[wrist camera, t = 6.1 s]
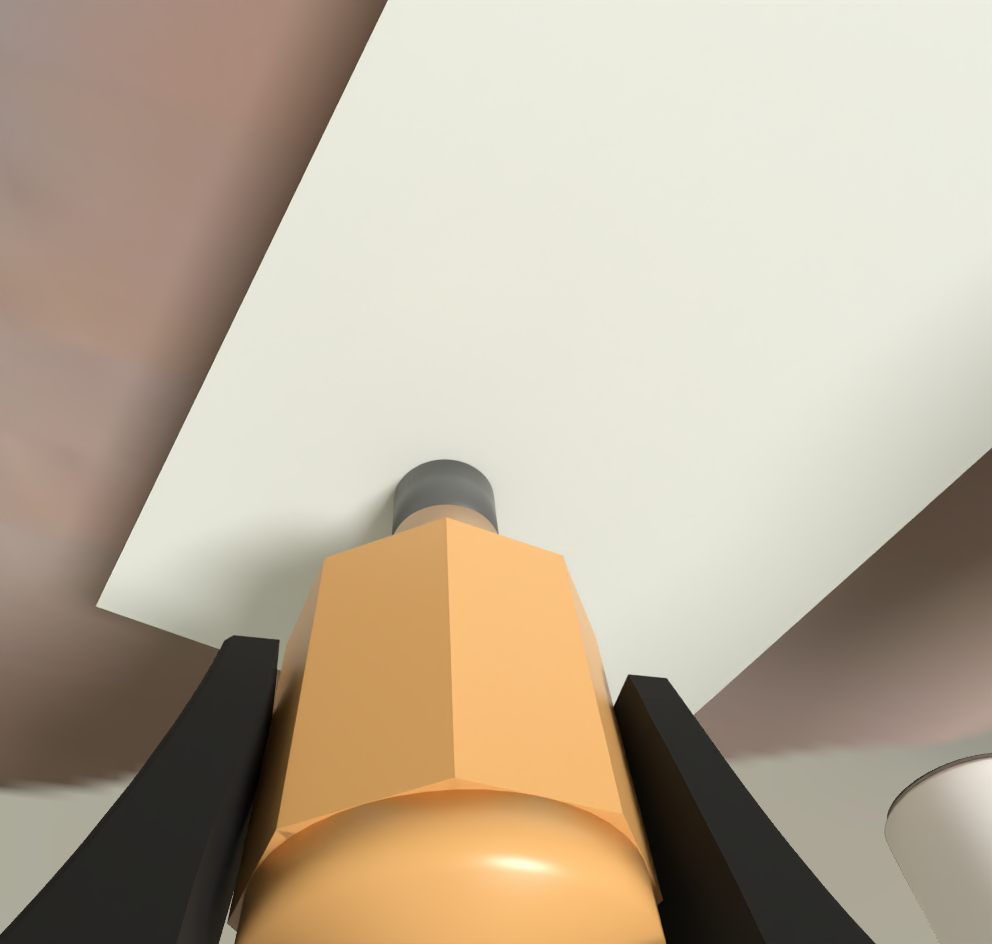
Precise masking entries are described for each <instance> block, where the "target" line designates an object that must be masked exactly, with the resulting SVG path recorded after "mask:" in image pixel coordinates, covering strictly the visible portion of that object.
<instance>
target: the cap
mask: <svg viewBox="0 0 992 944" xmlns="http://www.w3.org/2000/svg"><path fill="white" fill-rule="evenodd" d="M662 900H663V898H662V894H661V890H660V886H659V882H658V878H657V874H656V870H655V866H654V862H653V858H652V855H651V851H650V847H649V843H648V839H647V835H646V831H645V827H644V823H643V819H642V815H641V811H640V808H639V804H638V800H637V796H636V792H635V788H634V784H633V780H632V776H631V773H630V769H629V765H628V762H627V758H626V754H625V750H624V746H623V742H622V738H621V734H620V730H619V726H618V722H617V718H616V715H615V711H614V706H613V702H612V698H611V694H610V690H609V686H608V682H607V678H606V675H605V671H604V667H603V663H602V659H601V655H600V651H599V647H598V643H597V639H596V636H595V634H594V631H593V629H592V627H591V624H590V622H589V619H588V617H587V614H586V612H585V609H584V607H583V604H582V602H581V599H580V597H579V595H578V592H577V590H576V587H575V585H574V582H573V580H572V577H571V575H570V572H569V570H568V567H567V565H566V563H565V560H564V558H563V555H560V554H557V553H554V552H551V551H548V550H545V549H542V548H539V547H536V546H532V545H529V544H526V543H523V542H520V541H517V540H514V539H511V538H508V537H505V536H502V535H499V534H496V533H493V532H490V531H487V530H484V529H480V528H477V527H474V526H471V525H468V524H465V523H462V522H459V521H456V520H453V519H450V518H447V517H445V518H442V519H439V520H436V521H433V522H430V523H427V524H424V525H421V526H418V527H415V528H412V529H409V530H406V531H404V532H401V533H398V534H395V535H392V536H389V537H386V538H383V539H380V540H377V541H374V542H371V543H368V544H365V545H362V546H359V547H356V548H353V549H350V550H347V551H344V552H341V553H338V554H335V555H332V556H330V557H327V558H325V559H324V561H323V563H322V566H321V568H320V570H319V572H318V575H317V577H316V579H315V581H314V584H313V586H312V588H311V590H310V593H309V595H308V597H307V600H306V602H305V604H304V606H303V609H302V611H301V613H300V615H299V618H298V620H297V622H296V624H295V627H294V629H293V631H292V634H291V636H290V638H289V640H288V643H287V645H286V650H285V654H284V659H283V664H282V668H281V673H280V678H279V683H278V687H277V692H276V697H275V701H274V706H273V715H272V720H271V725H270V730H269V734H268V739H267V744H266V749H265V753H264V758H263V763H262V767H261V772H260V777H259V781H258V784H257V788H256V792H255V796H254V800H253V805H252V809H251V814H250V819H249V823H248V828H247V833H246V837H245V842H244V847H243V852H242V856H241V861H240V866H239V870H238V875H237V880H236V884H235V889H234V894H233V899H232V903H231V908H230V913H229V918H228V922H227V924H228V925H230V926H231V927H232V928H233V929H234V930H236V931H237V934H236V939H235V944H666V941H665V937H664V933H663V929H662V925H661V920H660V916H659V912H658V908H657V905H658V904H659V903H660V902H661V901H662Z"/></svg>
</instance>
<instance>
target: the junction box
mask: <svg viewBox="0 0 992 944" xmlns="http://www.w3.org/2000/svg"><path fill="white" fill-rule="evenodd" d="M991 448H992V0H388V1H387V3H386V5H385V7H384V10H383V12H382V14H381V16H380V18H379V20H378V22H377V24H376V26H375V28H374V30H373V32H372V34H371V37H370V39H369V41H368V43H367V45H366V47H365V49H364V51H363V53H362V55H361V57H360V59H359V61H358V63H357V66H356V68H355V70H354V72H353V74H352V76H351V78H350V80H349V82H348V84H347V86H346V88H345V90H344V93H343V95H342V97H341V99H340V101H339V103H338V105H337V107H336V109H335V111H334V113H333V115H332V117H331V119H330V122H329V124H328V126H327V128H326V130H325V132H324V134H323V136H322V138H321V140H320V142H319V144H318V146H317V149H316V151H315V153H314V155H313V157H312V159H311V161H310V163H309V165H308V167H307V169H306V171H305V173H304V175H303V178H302V180H301V182H300V184H299V186H298V188H297V190H296V192H295V194H294V196H293V198H292V200H291V202H290V205H289V207H288V209H287V211H286V213H285V215H284V217H283V219H282V221H281V223H280V225H279V227H278V229H277V231H276V234H275V236H274V238H273V240H272V242H271V244H270V246H269V248H268V250H267V252H266V254H265V256H264V258H263V261H262V263H261V265H260V267H259V269H258V271H257V273H256V275H255V277H254V279H253V281H252V283H251V285H250V287H249V290H248V292H247V294H246V296H245V298H244V300H243V302H242V304H241V306H240V308H239V310H238V312H237V314H236V317H235V319H234V321H233V323H232V325H231V327H230V329H229V331H228V333H227V335H226V337H225V339H224V341H223V343H222V346H221V348H220V350H219V352H218V354H217V356H216V358H215V360H214V362H213V364H212V366H211V368H210V370H209V373H208V375H207V377H206V379H205V381H204V383H203V385H202V387H201V389H200V391H199V393H198V395H197V397H196V400H195V402H194V404H193V406H192V408H191V410H190V412H189V414H188V416H187V418H186V420H185V422H184V424H183V426H182V429H181V431H180V433H179V435H178V437H177V439H176V441H175V443H174V445H173V447H172V449H171V451H170V453H169V456H168V458H167V460H166V462H165V464H164V466H163V468H162V470H161V472H160V474H159V476H158V478H157V480H156V482H155V485H154V487H153V489H152V491H151V493H150V495H149V497H148V499H147V501H146V503H145V505H144V507H143V509H142V512H141V514H140V516H139V518H138V520H137V522H136V524H135V526H134V528H133V530H132V532H131V534H130V536H129V538H128V541H127V543H126V545H125V547H124V549H123V551H122V553H121V555H120V557H119V559H118V561H117V563H116V565H115V568H114V570H113V572H112V574H111V576H110V578H109V580H108V582H107V584H106V586H105V588H104V590H103V592H102V594H101V597H100V599H99V601H98V603H97V605H96V607H99V608H102V609H105V610H108V611H111V612H114V613H116V614H119V615H122V616H125V617H128V618H131V619H134V620H137V621H139V622H142V623H145V624H148V625H151V626H154V627H157V628H160V629H162V630H165V631H168V632H171V633H174V634H177V635H180V636H183V637H185V638H188V639H191V640H194V641H197V642H200V643H203V644H206V645H208V646H211V647H214V648H217V649H220V648H221V646H222V644H223V642H224V640H226V639H228V638H229V637H231V636H233V635H237V636H247V637H257V638H268V639H278V640H280V643H279V654H278V664H277V670H280V671H281V668H282V664H283V659H284V654H285V650H286V645H287V643H288V640H289V638H290V636H291V634H292V631H293V629H294V627H295V624H296V622H297V620H298V618H299V615H300V613H301V611H302V609H303V606H304V604H305V602H306V600H307V597H308V595H309V593H310V590H311V588H312V586H313V584H314V581H315V579H316V577H317V575H318V572H319V570H320V568H321V566H322V563H323V561H324V559H325V558H327V557H330V556H332V555H335V554H338V553H341V552H344V551H347V550H350V549H353V548H356V547H359V546H362V545H365V544H368V543H371V542H374V541H377V540H380V539H383V538H386V537H389V536H392V535H395V534H398V533H401V532H404V531H406V530H409V529H412V528H415V527H418V526H421V525H424V524H427V523H430V522H433V521H436V520H439V519H442V518H445V517H447V518H450V519H453V520H456V521H459V522H462V523H465V524H468V525H471V526H474V527H477V528H480V529H484V530H487V531H490V532H493V533H496V534H499V535H502V536H505V537H508V538H511V539H514V540H517V541H520V542H523V543H526V544H529V545H532V546H536V547H539V548H542V549H545V550H548V551H551V552H554V553H557V554H560V555H563V558H564V560H565V563H566V565H567V567H568V570H569V572H570V575H571V577H572V580H573V582H574V585H575V587H576V590H577V592H578V595H579V597H580V599H581V602H582V604H583V607H584V609H585V612H586V614H587V617H588V619H589V622H590V624H591V627H592V629H593V631H594V634H595V636H596V639H597V643H598V647H599V651H600V655H601V659H602V663H603V667H604V671H605V675H606V678H607V682H608V686H609V690H610V694H611V698H612V702H613V706H614V704H615V702H616V700H617V698H618V696H619V693H620V691H621V689H622V687H623V685H624V682H625V680H626V678H627V676H628V674H631V675H641V676H651V677H661V678H667V679H668V680H669V682H670V683H671V684H672V686H673V687H674V689H675V690H676V691H677V693H678V694H679V696H680V697H681V698H682V700H683V701H684V703H685V704H686V705H687V707H688V708H689V710H690V711H691V712H692V714H693V715H694V714H695V713H696V712H697V711H699V710H700V709H701V708H702V707H703V706H704V705H705V704H706V703H707V702H709V701H710V700H711V699H712V698H713V697H714V696H715V695H716V694H718V693H719V692H720V691H721V690H722V689H723V688H724V687H725V686H726V685H728V684H729V683H730V682H731V681H732V680H733V679H734V678H735V677H736V676H738V675H739V674H740V673H741V672H742V671H743V670H744V669H745V668H747V667H748V666H749V665H750V664H751V663H752V662H753V661H754V660H755V659H757V658H758V657H759V656H760V655H761V654H762V653H763V652H764V651H765V650H767V649H768V648H769V647H770V646H771V645H772V644H773V643H774V642H776V641H777V640H778V639H779V638H780V637H781V636H782V635H783V634H784V633H786V632H787V631H788V630H789V629H790V628H791V627H792V626H793V625H794V624H796V623H797V622H798V621H799V620H800V619H801V618H802V617H803V616H805V615H806V614H807V613H808V612H809V611H810V610H811V609H812V608H813V607H815V606H816V605H817V604H818V603H819V602H820V601H821V600H822V599H823V598H825V597H826V596H827V595H828V594H829V593H830V592H831V591H832V590H834V589H835V588H836V587H837V586H838V585H839V584H840V583H841V582H842V581H844V580H845V579H846V578H847V577H848V576H849V575H850V574H851V573H853V572H854V571H855V570H856V569H857V568H858V567H859V566H860V565H861V564H863V563H864V562H865V561H866V560H867V559H868V558H869V557H870V556H871V555H873V554H874V553H875V552H876V551H877V550H878V549H879V548H880V547H882V546H883V545H884V544H885V543H886V542H887V541H888V540H889V539H890V538H892V537H893V536H894V535H895V534H896V533H897V532H898V531H899V530H900V529H902V528H903V527H904V526H905V525H906V524H907V523H908V522H909V521H911V520H912V519H913V518H914V517H915V516H916V515H917V514H918V513H919V512H921V511H922V510H923V509H924V508H925V507H926V506H927V505H928V504H929V503H931V502H932V501H933V500H934V499H935V498H936V497H937V496H938V495H940V494H941V493H942V492H943V491H944V490H945V489H946V488H947V487H948V486H950V485H951V484H952V483H953V482H954V481H955V480H956V479H957V478H958V477H960V476H961V475H962V474H963V473H964V472H965V471H966V470H967V469H969V468H970V467H971V466H972V465H973V464H974V463H975V462H976V461H977V460H979V459H980V458H981V457H982V456H983V455H984V454H985V453H986V452H987V451H989V450H990V449H991Z"/></svg>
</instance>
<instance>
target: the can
mask: <svg viewBox="0 0 992 944" xmlns="http://www.w3.org/2000/svg"><path fill="white" fill-rule="evenodd" d="M885 838H886V841H887V843H888V845H889V847H890V849H891V851H892V853H893V855H894V857H895V859H896V861H897V863H898V865H899V867H900V869H901V871H902V873H903V875H904V876H905V879H906V880H907V882H908V884H909V886H910V888H911V890H912V892H913V894H914V895H915V898H916V899H917V901H918V903H919V905H920V907H921V909H922V911H923V913H924V915H925V917H926V919H927V920H928V922H929V924H930V926H931V928H932V930H933V932H934V934H935V936H936V938H937V939H938V941H939V943H940V944H992V753H988V754H981V755H975V756H971V757H966V758H963V759H959V760H956V761H953V762H951V763H948V764H945V765H943V766H940V767H938V768H936V769H934V770H932V771H930V772H928V773H927V774H925V775H923V776H921V777H920V778H918V779H917V780H915V781H914V782H913V783H912V784H910V785H909V786H908V787H906V788H905V789H904V790H903V791H902V792H901V793H900V794H899V795H898V796H897V798H896V799H895V800H894V802H893V803H892V805H891V807H890V809H889V811H888V815H887V822H886V825H885Z"/></svg>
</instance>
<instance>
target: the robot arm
mask: <svg viewBox="0 0 992 944" xmlns="http://www.w3.org/2000/svg"><path fill="white" fill-rule="evenodd" d="M279 643H280V640H278V639H268V638H257V637H247V636H237V635H233V636H231V637H229V638H228V639H226V640H224V642H223V644H222V646H221V648H220V650H219V652H218V654H217V656H216V658H215V659H214V661H213V663H212V665H211V666H210V668H209V670H208V672H207V673H206V675H205V677H204V678H203V680H202V682H201V683H200V685H199V687H198V688H197V690H196V691H195V693H194V694H193V696H192V698H191V699H190V701H189V702H188V704H187V705H186V707H185V708H184V710H183V711H182V713H181V714H180V716H179V717H178V719H177V720H176V722H175V723H174V724H173V726H172V727H171V729H170V730H169V731H168V733H167V734H166V736H165V737H164V738H163V740H162V741H161V742H160V744H159V745H158V747H157V748H156V749H155V751H154V752H153V754H152V755H151V756H150V758H149V759H148V760H147V762H146V763H145V765H144V766H143V767H142V769H141V770H140V771H139V773H138V774H137V775H136V777H135V778H134V779H133V781H132V782H131V783H130V785H129V786H128V787H127V788H126V790H125V791H124V792H123V793H122V794H121V796H120V797H119V798H118V800H117V801H116V802H115V803H114V805H113V806H112V807H111V808H110V809H109V811H108V812H107V813H106V814H105V816H104V817H103V818H102V819H101V821H100V822H99V823H98V824H97V826H96V827H95V828H94V829H93V831H92V832H91V833H90V834H89V835H88V837H87V838H86V839H85V840H84V842H83V843H82V844H81V845H80V846H79V847H78V849H77V850H76V851H75V852H74V853H73V855H72V856H71V857H70V858H69V859H68V860H67V862H66V863H65V864H64V865H63V866H62V867H61V868H60V870H59V871H58V872H57V873H56V874H55V875H54V877H53V878H52V879H51V880H50V881H49V882H48V883H47V884H46V885H45V887H44V888H43V889H42V890H41V891H40V892H39V893H38V895H37V896H36V897H35V898H34V899H33V900H32V901H31V902H30V903H29V904H28V905H27V906H26V908H25V909H24V910H23V911H22V912H21V913H20V914H19V915H18V916H17V917H16V918H15V920H14V921H13V922H12V923H11V924H10V925H9V926H8V927H7V928H6V929H5V930H4V931H3V932H2V934H1V935H0V944H219V941H220V937H221V934H222V930H223V927H224V923H225V920H226V916H227V913H228V909H229V906H230V902H231V899H232V896H233V892H234V889H235V884H236V880H237V875H238V870H239V866H240V861H241V856H242V852H243V847H244V842H245V837H246V833H247V828H248V823H249V819H250V814H251V809H252V805H253V800H254V796H255V792H256V788H257V784H258V781H259V777H260V772H261V767H262V763H263V758H264V753H265V749H266V744H267V739H268V734H269V730H270V725H271V720H272V715H273V706H274V696H275V685H276V675H277V664H278V654H279ZM614 711H615V715H616V718H617V722H618V726H619V730H620V734H621V738H622V742H623V746H624V750H625V754H626V758H627V762H628V765H629V769H630V773H631V776H632V780H633V784H634V788H635V792H636V796H637V800H638V804H639V808H640V811H641V815H642V819H643V823H644V827H645V831H646V835H647V839H648V843H649V847H650V851H651V855H652V858H653V862H654V866H655V870H656V874H657V878H658V882H659V886H660V890H661V894H662V898H663V900H662V901H661V902H660V903H659V904H658V905H657V908H658V912H659V916H660V920H661V925H662V929H663V933H664V937H665V941H666V944H875V943H874V942H873V941H872V939H871V938H870V937H869V936H868V935H867V934H866V933H865V932H864V931H863V930H862V929H861V928H860V927H859V926H858V924H857V923H856V922H855V921H854V920H853V919H852V918H851V917H850V916H849V915H848V914H847V912H846V911H845V910H844V909H843V908H842V907H841V905H840V904H839V903H838V902H837V901H836V900H835V899H834V897H833V896H832V895H831V894H830V893H829V892H828V890H827V889H826V888H825V887H824V886H823V885H822V883H821V882H820V881H819V880H818V878H817V877H816V876H815V875H814V874H813V873H812V871H811V870H810V869H809V868H808V866H807V865H806V864H805V863H804V862H803V860H802V859H801V858H800V857H799V856H798V854H797V853H796V852H795V851H794V849H793V848H792V847H791V846H790V845H789V843H788V842H787V841H786V840H785V838H784V837H783V836H782V835H781V833H780V832H779V831H778V830H777V828H776V827H775V826H774V824H773V823H772V822H771V820H770V819H769V818H768V817H767V815H766V814H765V813H764V811H763V810H762V809H761V807H760V806H759V805H758V803H757V802H756V801H755V799H754V798H753V797H752V795H751V794H750V793H749V792H748V790H747V789H746V788H745V786H744V785H743V784H742V782H741V781H740V779H739V778H738V777H737V775H736V774H735V773H734V771H733V770H732V769H731V767H730V766H729V764H728V763H727V762H726V760H725V759H724V757H723V756H722V755H721V753H720V752H719V750H718V749H717V748H716V746H715V745H714V744H713V742H712V741H711V739H710V738H709V737H708V735H707V734H706V732H705V731H704V729H703V728H702V727H701V725H700V724H699V722H698V721H697V720H696V718H695V717H694V715H693V714H692V712H691V711H690V710H689V708H688V707H687V705H686V704H685V703H684V701H683V700H682V698H681V697H680V696H679V694H678V693H677V691H676V690H675V689H674V687H673V686H672V684H671V683H670V682H669V680H668V679H667V678H661V677H651V676H641V675H631V674H628V676H627V678H626V680H625V682H624V685H623V687H622V689H621V691H620V693H619V696H618V698H617V700H616V702H615V704H614Z"/></svg>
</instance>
